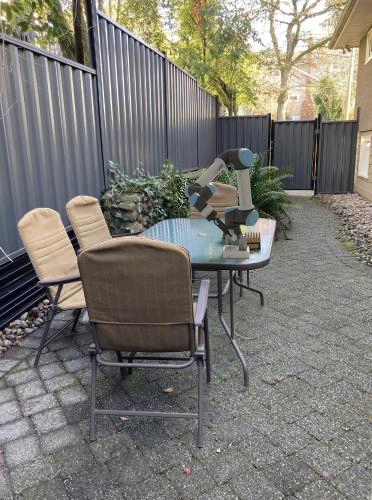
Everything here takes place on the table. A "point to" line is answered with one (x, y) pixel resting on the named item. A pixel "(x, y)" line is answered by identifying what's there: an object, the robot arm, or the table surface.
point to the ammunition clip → (254, 241)
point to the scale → (235, 252)
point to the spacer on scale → (242, 242)
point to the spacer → (228, 239)
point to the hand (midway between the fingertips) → (235, 239)
